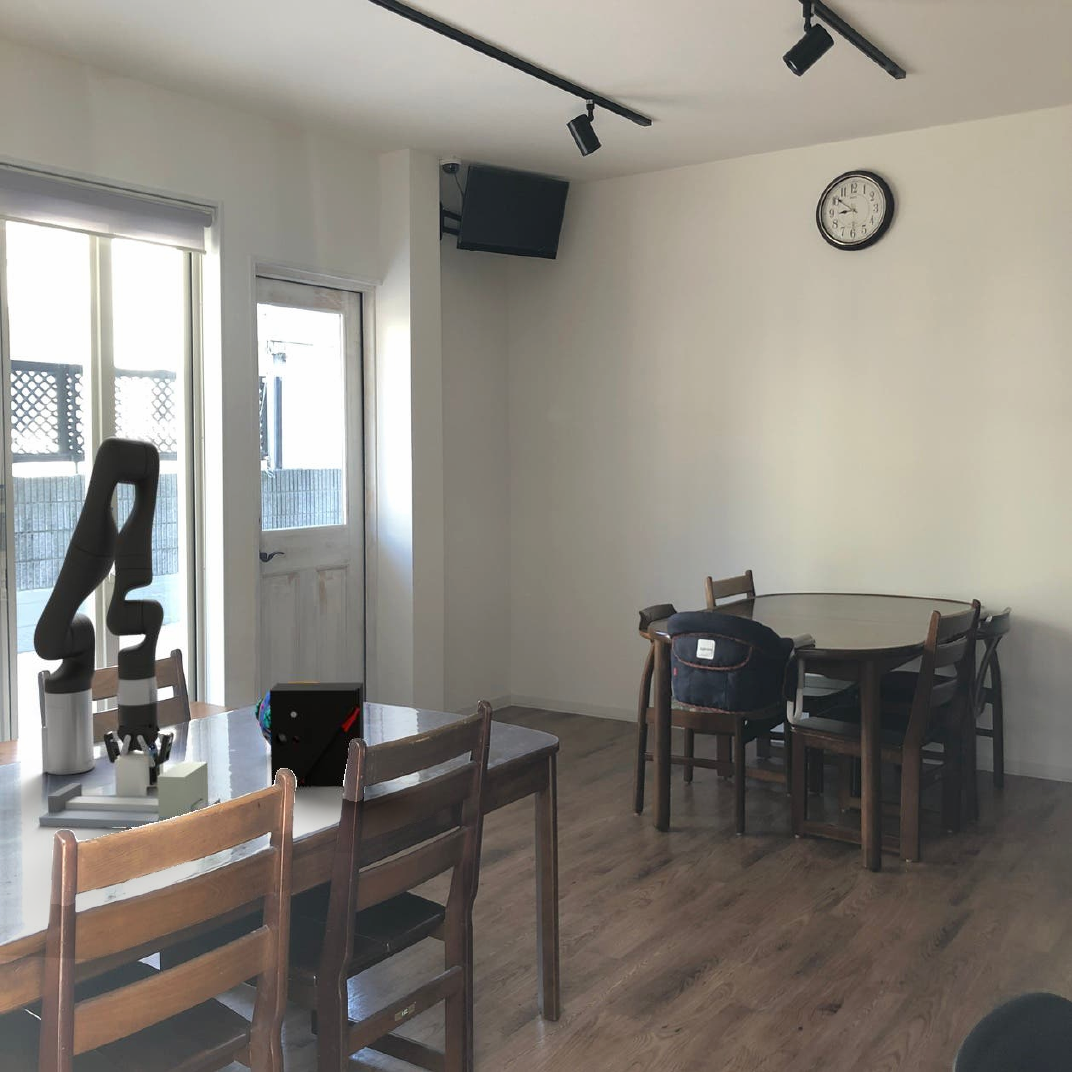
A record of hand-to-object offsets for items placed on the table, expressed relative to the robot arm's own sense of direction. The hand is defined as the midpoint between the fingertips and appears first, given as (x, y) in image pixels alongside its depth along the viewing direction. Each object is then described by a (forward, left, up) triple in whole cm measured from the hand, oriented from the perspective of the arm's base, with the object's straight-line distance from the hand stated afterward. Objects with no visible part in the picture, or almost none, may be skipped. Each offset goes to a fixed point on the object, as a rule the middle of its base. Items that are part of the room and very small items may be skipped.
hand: (140, 783), depth 213 cm
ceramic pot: (+22, +32, -2) cm, 39 cm away
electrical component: (+34, +9, -2) cm, 35 cm away
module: (0, 0, -1) cm, 1 cm away
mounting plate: (+6, -15, -1) cm, 16 cm away
